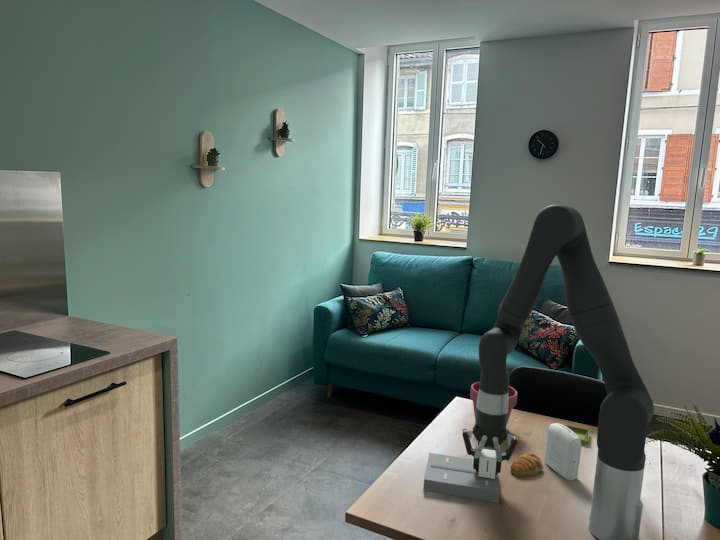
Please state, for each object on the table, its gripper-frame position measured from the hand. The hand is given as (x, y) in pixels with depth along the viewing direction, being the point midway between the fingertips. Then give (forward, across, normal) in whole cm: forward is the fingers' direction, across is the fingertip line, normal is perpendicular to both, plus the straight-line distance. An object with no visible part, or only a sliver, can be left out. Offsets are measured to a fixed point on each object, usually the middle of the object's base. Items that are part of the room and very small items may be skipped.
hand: (486, 471), depth 134 cm
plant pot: (+4, +2, +36) cm, 36 cm away
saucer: (+4, +27, +37) cm, 46 cm away
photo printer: (+4, +20, +14) cm, 25 cm away
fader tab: (0, 0, 0) cm, 0 cm away
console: (+4, -6, 0) cm, 7 cm away
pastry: (+4, +11, +12) cm, 16 cm away
